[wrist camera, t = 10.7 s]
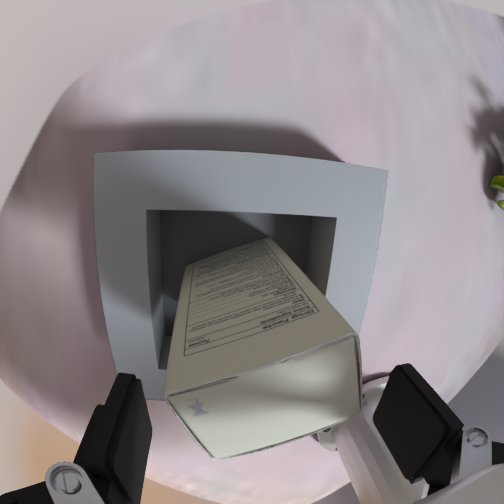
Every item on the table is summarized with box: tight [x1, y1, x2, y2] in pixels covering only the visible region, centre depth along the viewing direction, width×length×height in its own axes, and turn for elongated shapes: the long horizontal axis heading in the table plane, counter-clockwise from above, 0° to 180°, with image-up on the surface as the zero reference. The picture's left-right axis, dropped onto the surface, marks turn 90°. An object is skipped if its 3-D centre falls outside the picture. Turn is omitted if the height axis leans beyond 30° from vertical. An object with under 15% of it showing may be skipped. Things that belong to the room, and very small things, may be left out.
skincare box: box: [163, 237, 362, 460], centre depth 14 cm, size 6×4×12 cm
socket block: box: [93, 150, 388, 401], centre depth 18 cm, size 16×16×5 cm
